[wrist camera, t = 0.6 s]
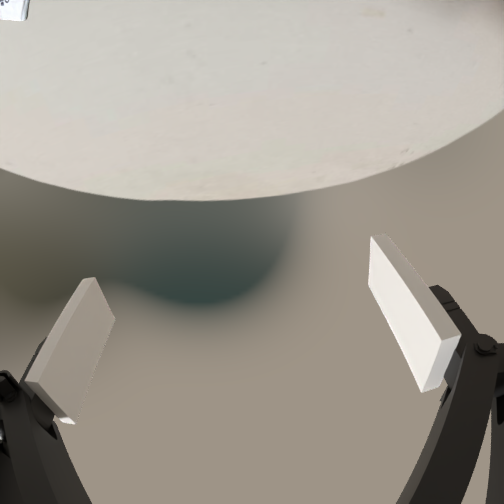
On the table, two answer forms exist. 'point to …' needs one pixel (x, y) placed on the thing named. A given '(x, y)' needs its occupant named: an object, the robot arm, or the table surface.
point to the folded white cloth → (13, 9)
